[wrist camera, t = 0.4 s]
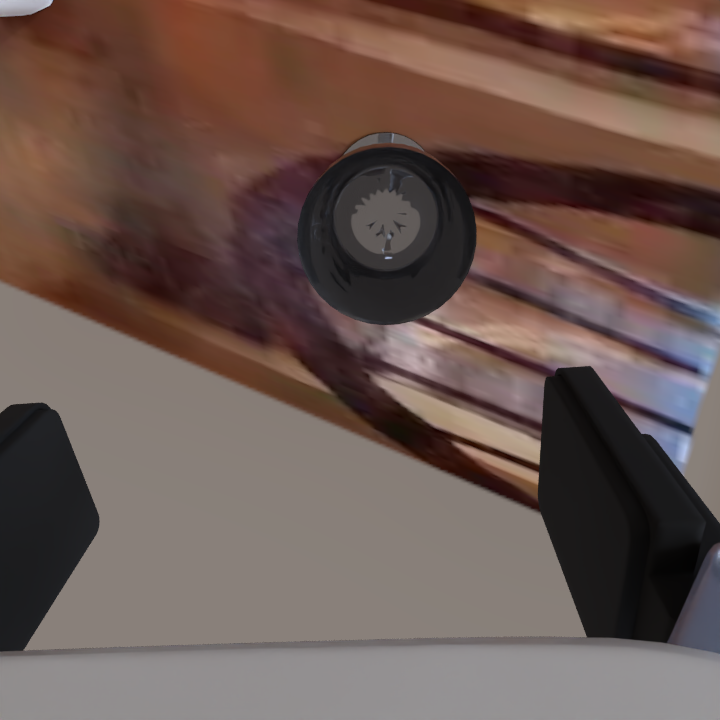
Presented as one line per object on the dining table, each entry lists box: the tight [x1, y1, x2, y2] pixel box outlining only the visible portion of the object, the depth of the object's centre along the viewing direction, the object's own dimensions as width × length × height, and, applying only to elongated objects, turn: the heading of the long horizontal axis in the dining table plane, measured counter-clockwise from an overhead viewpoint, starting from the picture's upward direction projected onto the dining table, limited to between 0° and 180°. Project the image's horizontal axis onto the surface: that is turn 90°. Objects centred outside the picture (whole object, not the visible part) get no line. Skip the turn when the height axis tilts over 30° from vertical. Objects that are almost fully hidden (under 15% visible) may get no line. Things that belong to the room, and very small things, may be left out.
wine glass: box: [297, 132, 476, 325], centre depth 31 cm, size 8×8×15 cm
